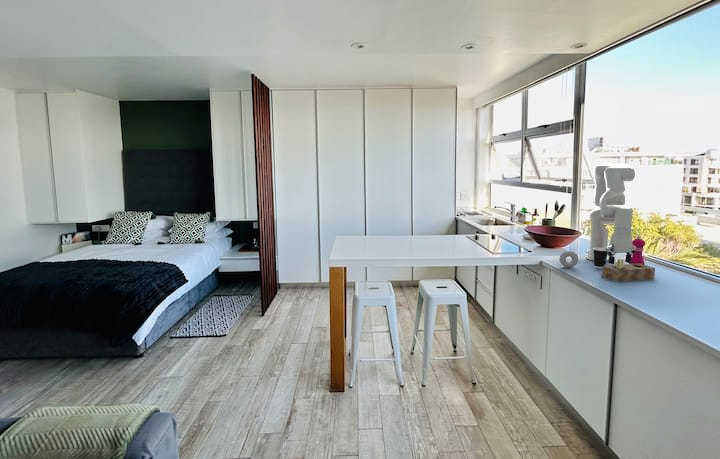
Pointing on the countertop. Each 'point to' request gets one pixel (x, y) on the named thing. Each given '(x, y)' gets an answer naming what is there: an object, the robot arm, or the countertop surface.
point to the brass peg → (619, 264)
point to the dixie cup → (600, 257)
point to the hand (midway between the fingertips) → (619, 263)
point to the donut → (567, 254)
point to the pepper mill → (638, 251)
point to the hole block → (628, 272)
